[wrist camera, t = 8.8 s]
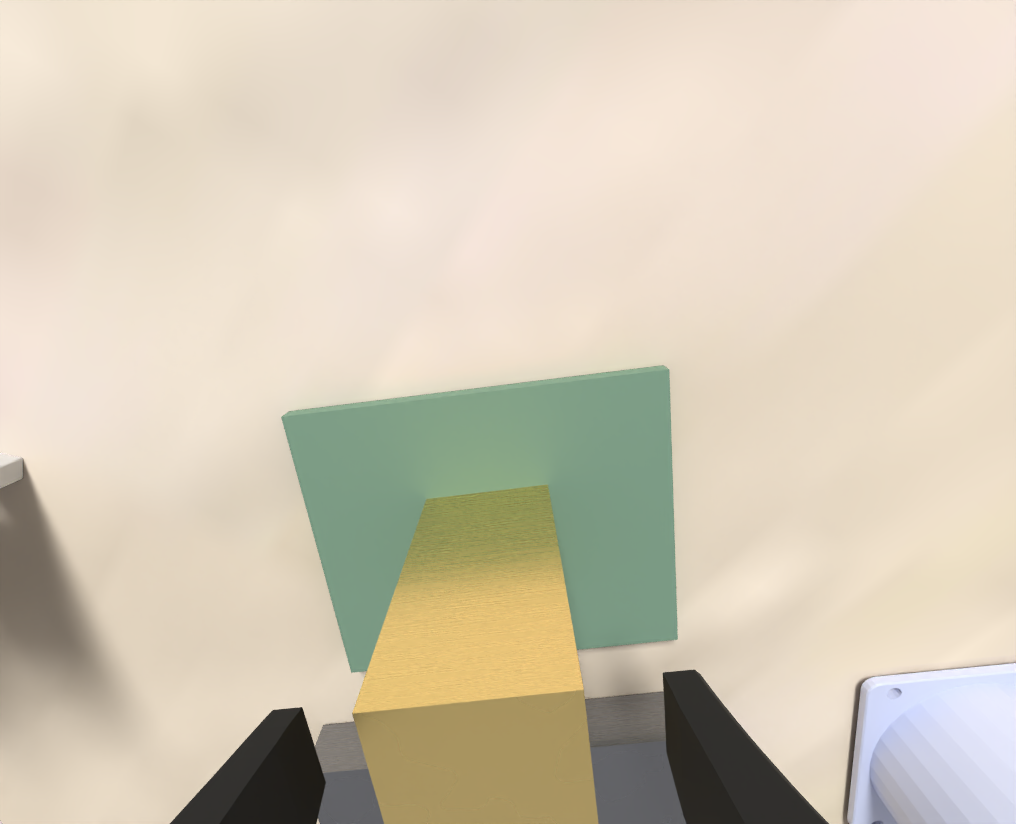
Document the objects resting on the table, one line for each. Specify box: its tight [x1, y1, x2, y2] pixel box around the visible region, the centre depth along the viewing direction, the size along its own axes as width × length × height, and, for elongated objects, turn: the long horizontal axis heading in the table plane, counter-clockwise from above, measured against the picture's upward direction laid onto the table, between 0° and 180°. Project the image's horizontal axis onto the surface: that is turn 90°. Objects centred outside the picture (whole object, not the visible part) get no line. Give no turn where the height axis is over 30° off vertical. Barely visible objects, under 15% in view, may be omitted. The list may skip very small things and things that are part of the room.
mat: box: [281, 365, 678, 673], centre depth 17 cm, size 12×10×1 cm
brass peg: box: [352, 485, 598, 824], centre depth 13 cm, size 4×4×8 cm
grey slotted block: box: [315, 692, 686, 824], centre depth 20 cm, size 15×8×2 cm, turn 97°
